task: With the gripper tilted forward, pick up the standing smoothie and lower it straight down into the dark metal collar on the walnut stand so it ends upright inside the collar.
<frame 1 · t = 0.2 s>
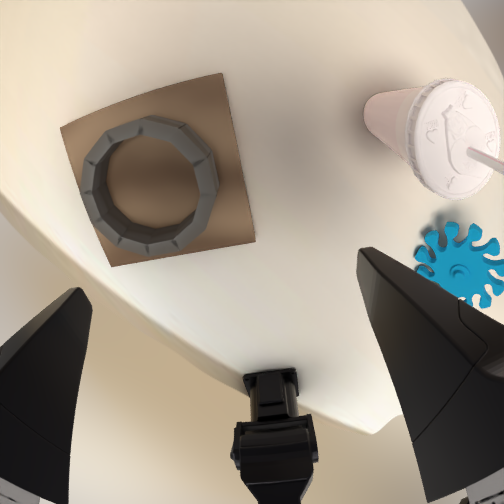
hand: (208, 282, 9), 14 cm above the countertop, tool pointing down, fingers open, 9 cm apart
smoothie: (383, 115, 19), on the countertop
gear: (440, 253, 26), on the countertop
collar stand: (156, 177, 21), on the countertop
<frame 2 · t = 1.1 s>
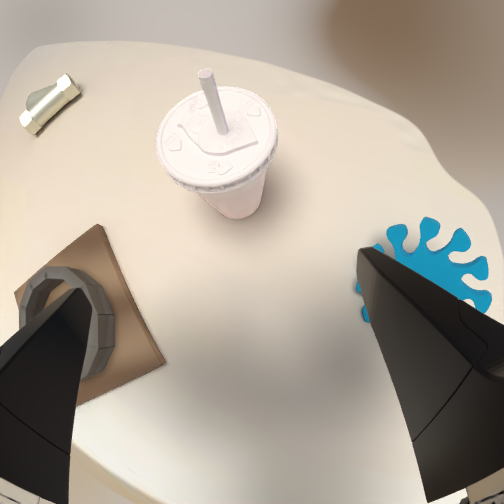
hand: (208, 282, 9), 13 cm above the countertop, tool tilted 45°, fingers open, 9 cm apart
smoothie: (238, 198, 23), on the countertop
gear: (405, 300, 21), on the countertop
collar stand: (77, 324, 22), on the countertop
pipe fitting: (56, 106, 29), on the countertop
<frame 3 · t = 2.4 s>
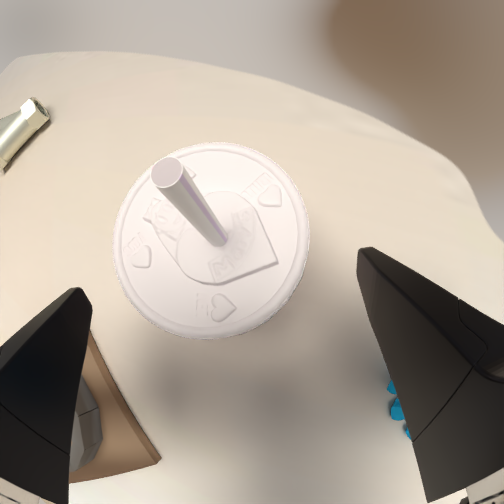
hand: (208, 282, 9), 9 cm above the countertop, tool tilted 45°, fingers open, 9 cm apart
smoothie: (241, 273, 18), on the countertop
gear: (436, 389, 16), on the countertop
collar stand: (60, 405, 17), on the countertop
pipe fitting: (25, 135, 24), on the countertop
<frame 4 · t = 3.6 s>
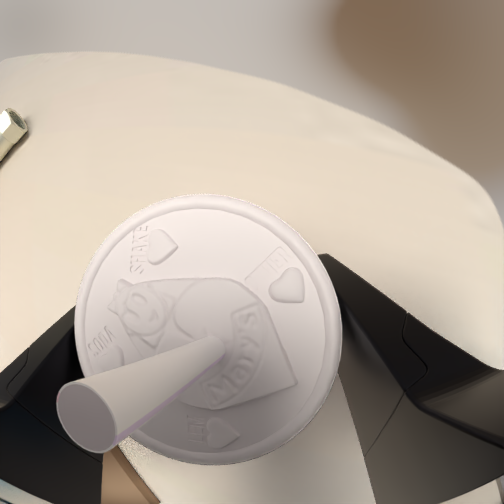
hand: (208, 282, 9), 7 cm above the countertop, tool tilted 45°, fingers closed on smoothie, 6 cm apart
smoothie: (243, 320, 16), on the countertop, touching gripper
collar stand: (52, 444, 14), on the countertop
pipe fitting: (3, 149, 21), on the countertop
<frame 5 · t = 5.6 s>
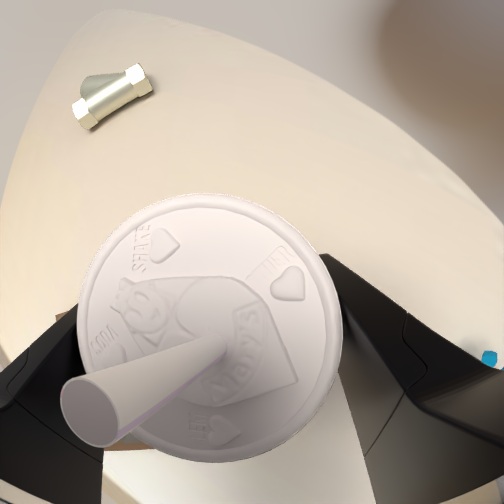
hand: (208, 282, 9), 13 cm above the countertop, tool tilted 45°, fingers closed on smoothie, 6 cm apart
smoothie: (244, 318, 16), point 6 cm above the countertop, touching gripper
collar stand: (136, 374, 21), on the countertop
pipe fitting: (117, 98, 27), on the countertop
when the fingers open (9 cm above the countertop, at t = 7.6 s): smoothie drops 1 cm, resting on collar stand.
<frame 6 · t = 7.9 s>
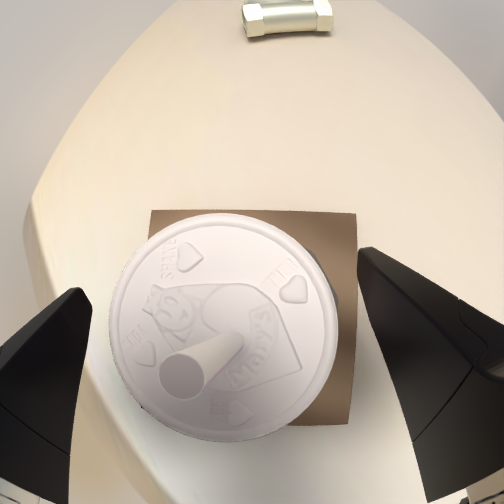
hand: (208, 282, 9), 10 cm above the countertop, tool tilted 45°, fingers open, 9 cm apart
smoothie: (247, 321, 17), point 1 cm above the countertop, touching collar stand
collar stand: (247, 318, 18), on the countertop
pipe fitting: (283, 24, 23), on the countertop
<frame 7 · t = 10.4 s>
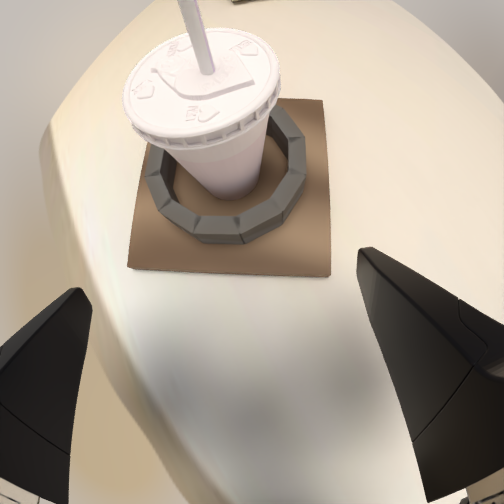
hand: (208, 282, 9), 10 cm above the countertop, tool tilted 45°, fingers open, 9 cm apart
smoothie: (231, 175, 19), point 1 cm above the countertop, touching collar stand
collar stand: (231, 179, 20), on the countertop
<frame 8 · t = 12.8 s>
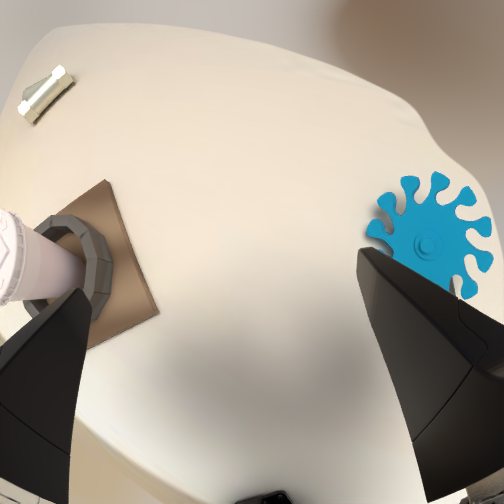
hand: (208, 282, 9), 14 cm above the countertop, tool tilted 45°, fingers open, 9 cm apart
smoothie: (72, 275, 23), point 1 cm above the countertop, touching collar stand
gear: (410, 260, 22), on the countertop
collar stand: (76, 276, 23), on the countertop
pipe fitting: (50, 97, 30), on the countertop
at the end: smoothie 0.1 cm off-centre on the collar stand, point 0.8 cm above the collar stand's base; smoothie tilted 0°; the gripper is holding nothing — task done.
